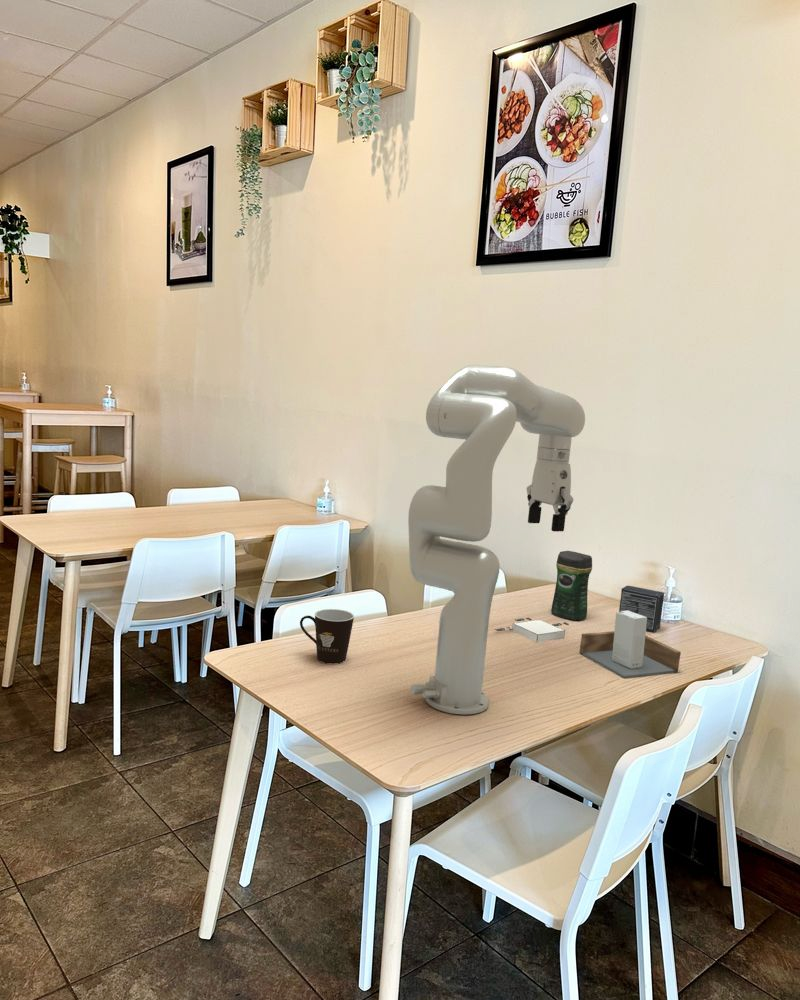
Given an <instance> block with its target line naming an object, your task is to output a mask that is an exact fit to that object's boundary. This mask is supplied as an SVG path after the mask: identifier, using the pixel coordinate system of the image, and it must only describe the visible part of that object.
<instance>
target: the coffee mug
mask: <svg viewBox="0 0 800 1000" xmlns="http://www.w3.org/2000/svg"><path fill="white" fill-rule="evenodd" d="M305 619H309V620H311V621H313V624H314V625H315V626H314V627H315V638H314V637H313V636H312V635H311V634H310V633H308V631H307V630H306V628H305V627H304V625H303V624H304V623H303V622H304V620H305ZM354 619H355V615H354V613H352V612H350V611H348V610H343V609H338V608H337V609H334V608H328V609H327V608H326V609H320V610H317V611H316V612H315V613H314V617H313V616H312V615H304V616H302V617H301V618H300V620H299V621H300V622H299V625H300V628H301V631H302V633H304V634H305V636H307V637H308V639H310V640H311V641H312V642H313V643H315V646H316V660H318V661H319V662H320V661H322V662H321V663H323V662H324V663H323V664H327V663H339V664H341V663H340V662H343V661H345V660H347V656H348V651H349V647H350V646H349V644H350V640H351V639H350V638H351V634H352V631H353V630H352V629H353V626H354V625H353V624H354ZM345 662H346V661H345ZM343 663H344V662H343Z"/></svg>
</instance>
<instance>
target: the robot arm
mask: <svg viewBox="0 0 800 1000" xmlns="http://www.w3.org/2000/svg"><path fill="white" fill-rule="evenodd" d="M425 412H426V413H425V422H426V425H427V428H428V430H429V431H430V432H431V433H432V434H433V435H435V436H438V437H442V438H447V439H458V440H464V442H462V443H461V445H460V446H459V447H458V448H457V449H456V450H455V451H454V452H453V454H452V455H451V456H450V458H449V459H448V461H447V464H446V467H445V468H446V469H445V486H439V485H434V484H433V485H432V484H431V485H430V484H429V485H425V486H421V487H420V488H419V489H417V490H416V492H415V493H414V495H413V496H412V499H411V500H410V504H409V508H408V515H407V516H408V517H407V518H408V525H407V526H408V547H409V548H408V551H409V553H408V554H409V568H410V574H411V576H412V577H413V579H414V580H415V581H416V582H417V583H420V584H421V585H426V586H430V587H433V588H437V589H441V590H442V589H443V590H446V591H450V592H452V593H454V594H453V596H452V597H451V599H450V600H449V601H448V602H447V603H445V605H444V606H443V607H442V610H440V611H441V612H440V615H439V620H438V621H439V622H438V623H439V625H438V627H439V628H438V635H437V645H436V656H435V658H436V659H435V666H434V667H435V668H434V675H431V676H429V679H428V680H429V681H426V682H425V683H416V684H415V683H414V684H411V686H410V693H411V694H412V696H416V695H422V697H423V698H424V700H425V702H426V703H427V704H428V705H429V706H430V707H432V708H433V709H435V710H438V711H440V712H444V713H448V714H453V715H464V716H465V715H466V716H467V715H474V714H479V713H482V712H484V711H486V709H488V708H489V703H490V700H489V699H490V698H489V697H488V695H487V694H486V693H485V692H483V683H484V682H483V681H484V673H485V663H486V654H487V652H486V651H487V646H488V645H487V643H488V633H489V625H490V617H491V616H490V615H491V609H492V608H491V607H492V604H493V603H492V602H493V596H494V593H495V589H496V586H497V583H498V578H499V576H500V568H501V567H500V561H499V558H498V556H497V554H495V552H493V551H492V550H491V549H488V548H487V547H485V546H480V545H477V544H471V542H472V543H474V542H481V541H483V540H484V539H486V538H487V537H488V535H489V534H490V531H491V527H492V519H493V518H492V517H493V515H492V514H493V512H492V511H493V473H494V472H493V471H494V467H495V464H496V462H497V458H498V457H499V455H500V453H501V451H502V450H503V448H504V446H505V445H506V443H507V441H508V440H509V438H510V436H511V435H512V433H513V430H514V428H515V426H516V423H517V422H518V423H519V424H520V426H521V428H522V429H523V430H524V431H526V432H527V433H530V434H534V435H535V434H536V435H539V436H538V443H537V444H538V445H537V452H536V453H537V454H536V461H535V464H534V468H533V474H532V478H531V479H532V480H531V484H530V485H529V484H528V486H527V487H526V494H527V501H528V504H527V505H528V517H527V523H528V524H540V522H541V516H542V515H541V514H542V506H541V505H542V504H546V505H550V506H552V507H553V511H554V513H553V514H552V519H551V521H552V522H551V528H550V529H551V531H552V532H564V530H565V526H566V525H565V523H566V516H567V515H568V513H569V511H570V510H571V506H572V504H573V502H574V497H573V496H572V495H571V487H572V470H571V469H572V468H571V463H570V455H571V449H572V448H571V445H572V438H575V437H577V436H579V435H580V434H581V433H582V432H583V429H584V427H585V424H586V423H585V422H586V414H585V410H584V407H583V406H582V405H581V404H580V402H579V401H577V400H576V399H575V398H574V397H572V396H569V395H566V394H564V393H561V392H557V391H555V390H552V389H549V388H547V387H544V386H541V385H537V384H535V383H534V382H532V381H531V380H530V379H529V378H528V377H526V375H524V374H522V373H521V372H520V371H519V370H517V369H515V368H512V367H509V366H497V365H496V366H495V365H481V364H470V365H469V364H468V365H467V366H464V367H462V368H461V369H459V370H458V371H457V372H455V373H453V375H451V376H450V378H449V379H448V380H447V381H446V382H445V383H444V384H443V385H442V386H441V387H440V388H438V390H437V391H436V392H435V393H434V394H433V396H432V397H431V398H430V400H429V402H428V404H427V408H426V411H425ZM445 538H446V539H445ZM447 538H448V539H449V540H448V539H447ZM450 539H451V540H450ZM453 540H455V541H453ZM466 542H470V543H466Z"/></svg>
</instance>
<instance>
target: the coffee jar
mask: <svg viewBox="0 0 800 1000" xmlns="http://www.w3.org/2000/svg"><path fill="white" fill-rule="evenodd" d="M555 565H556V570H557V573H556V574H557V575H556V583H555V587H554V594H553V598H552V604H551V609H550V611H551V613H552V614H553V615H554V616H557V617H560V618H563V619H568V620H572V621H576V620H578V621H581V620H584V619H585V618H587V615H588V592H589V591H588V590H589V588H588V587H589V580H590V579H589V578H590V574H591V573H592V570H593V557H592V556H591V555H589V554H585V553H581V552H579V551H578V552H577V551H573V550H572V551H571V550H564V551H563V550H562V551H559V554H558V556H557V560H556V563H555Z"/></svg>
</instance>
